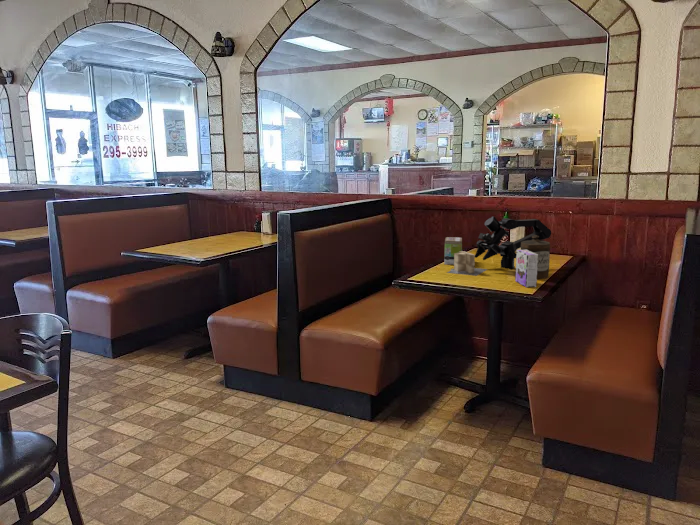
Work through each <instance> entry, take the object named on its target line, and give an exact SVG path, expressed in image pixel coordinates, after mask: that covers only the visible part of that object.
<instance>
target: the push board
mask: <svg viewBox="0 0 700 525" xmlns="http://www.w3.org/2000/svg"><path fill="white" fill-rule="evenodd" d="M486 271H488V268H481V267H478V268H477V267H474V273H467V271H457V270H454V268H450V270H449V271H447V272H446V274H455V275H466V276H475V277H477V276H479V275H481V274H482V273H484V272H486Z"/></svg>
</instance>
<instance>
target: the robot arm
mask: <svg viewBox="0 0 700 525" xmlns="http://www.w3.org/2000/svg"><path fill="white" fill-rule="evenodd" d="M484 226H485V227H486V228H487V229H488V230H489V231H490V232H492V234H491V233H481V232H480V233H479V235H478V239H479V240H477V242H476V247H477V250H476V252H475V254H474V255H475V259H476V258H478V257H480V256H481V255H483V254H484V253H485V252H486V251H487V252H486V253H485V254H484V256H483V258H482V260H483V261H485V260H488V259H489V258H492V257H494V256H496V255H498V254H499V256H500V257H501V259H500V268H502V269H507V270H513V269H514V268H515V269H516V265H515V259H516V251H517V250H520V249H521V242H522V241H527V240H532V239H533V238H532V236H534V235H537V236H539V238H538V239H539V240H540V241H543V240H546V239H549V238H551V236H552V230H551V229H550V228H548V227H547V226H546V225H545V224H544V223H543V222H542V221H541V220H540V219H537V218H531V219H512V218H507V217H504V218H501V220H498V219H497V218H496V217H495V216H491V217H489V218H488V219H487V220H485V221H484ZM522 227H523V228H526V227H532V228H533V232H532V233H531V234H528V235H525V236H524V237H522V238H519V239H517V240H515V241H509V240H505V241H504V242H502V239H503V238H504V237H510V232H509V230H510V231H511V230H514V229H517V228H522ZM498 244H499V245H498Z"/></svg>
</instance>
